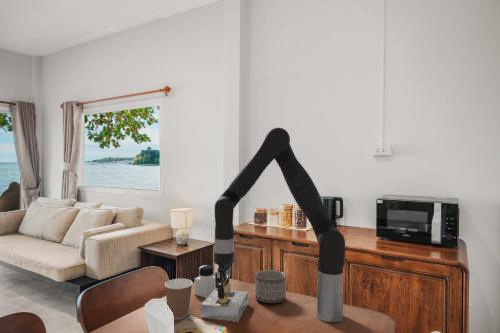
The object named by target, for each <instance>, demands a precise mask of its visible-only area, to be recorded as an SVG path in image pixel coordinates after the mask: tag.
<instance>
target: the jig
mask: <svg viewBox="0 0 500 333" xmlns="http://www.w3.org/2000/svg"><path fill="white" fill-rule="evenodd" d="M200 305H201V307H200V308H201V311H200V312H201V313H200V314H201V315H200V318H202V319H208V320H209V319H210V320H217V321H227V322H235V323H239V322H240V320H241V318H242V316H243V314H244V313H245V311H246V309H247V308H248V305H249V292H248V291H242V290H235V289H234V290H232V289H231V293H230V294H229V295H228V305H227V304H218V295H217V294H216V289H214V290H213V292H212V293H211V294H210V295H209V296H208V297H207V298H205V300H204V301H203V302H202V303H201V304H200Z"/></svg>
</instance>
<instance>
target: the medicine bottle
mask: <svg viewBox="0 0 500 333" xmlns="http://www.w3.org/2000/svg"><path fill="white" fill-rule="evenodd" d="M214 289H216V283H215V275H214V267H213V266H212V265H209V264H208V265H207V264H205V265H204V264H203V265H202V266H201V265H200V267H199V268H198V276H197V277H195V278H194V295H195V296H197V297H201V298H205V299H206V298H207V297H208V296H209V295H210V294H211V293H212V292H213V290H214Z"/></svg>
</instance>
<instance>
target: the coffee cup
mask: <svg viewBox="0 0 500 333" xmlns="http://www.w3.org/2000/svg"><path fill="white" fill-rule="evenodd" d="M193 284H194V282H193V281H192V280H191V279H187V278H174V279H170V280H167V281H165V283H164V287H165V297H166V298H165V299H166V306H167V305H168V306H169V308H170V309H171V311H172V312H173V315H174V319H173V320H182V319H185V318H186V317H188V314H189V312H190V311H189V310H190V302H191V295H192V287H193V286H192V285H193Z"/></svg>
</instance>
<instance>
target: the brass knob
mask: <svg viewBox="0 0 500 333" xmlns="http://www.w3.org/2000/svg"><path fill="white" fill-rule="evenodd" d="M220 285H221V283H220ZM231 290H232V285H231V283H230V282H229V283H225V287H224V298H223V299H220V298H218V304H227V305H228V295H229V294H230V293H231ZM216 294H217V295H218V288H216Z"/></svg>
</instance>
